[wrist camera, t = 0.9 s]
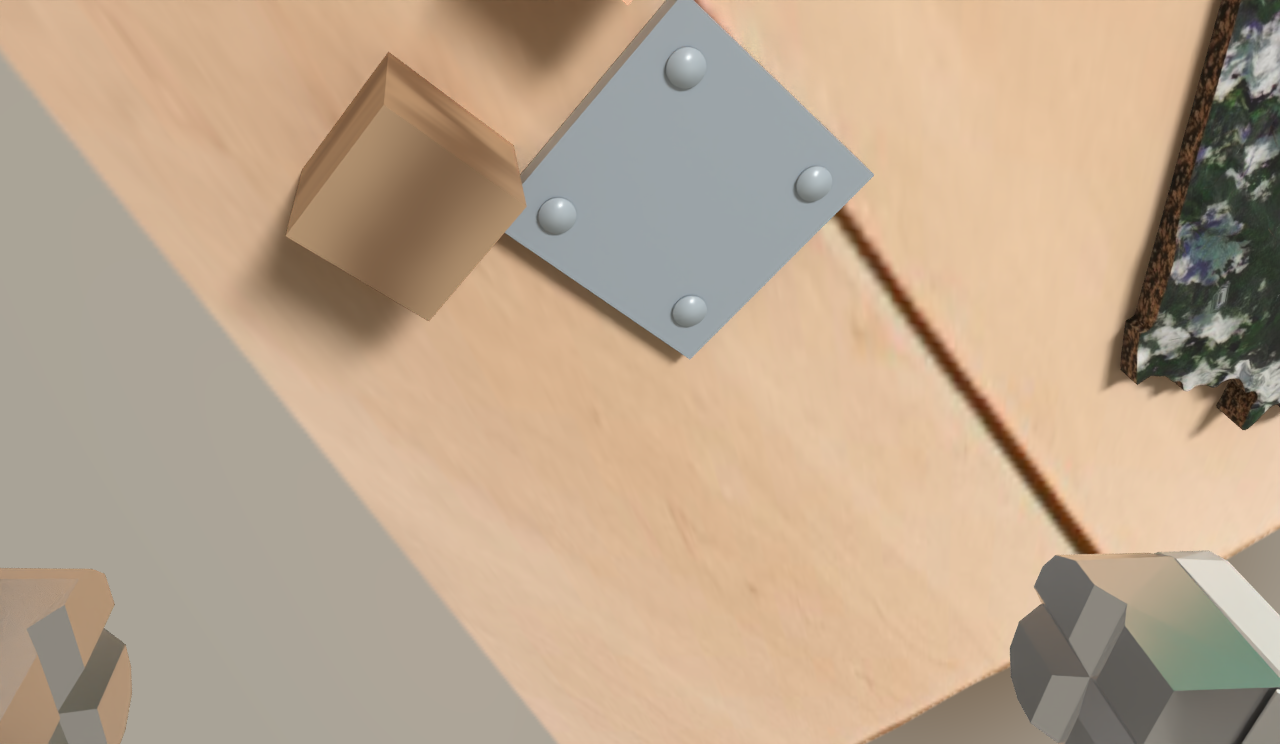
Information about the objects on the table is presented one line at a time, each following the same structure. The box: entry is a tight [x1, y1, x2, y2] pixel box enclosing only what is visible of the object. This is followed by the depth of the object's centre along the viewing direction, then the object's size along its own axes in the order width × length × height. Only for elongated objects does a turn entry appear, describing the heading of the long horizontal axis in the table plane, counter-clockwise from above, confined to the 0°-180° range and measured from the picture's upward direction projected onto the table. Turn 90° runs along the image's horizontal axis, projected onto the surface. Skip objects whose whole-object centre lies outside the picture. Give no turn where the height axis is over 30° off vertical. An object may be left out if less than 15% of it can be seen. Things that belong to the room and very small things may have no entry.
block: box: [286, 52, 527, 321], centre depth 36 cm, size 6×6×6 cm
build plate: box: [505, 0, 874, 359], centre depth 41 cm, size 12×12×1 cm
